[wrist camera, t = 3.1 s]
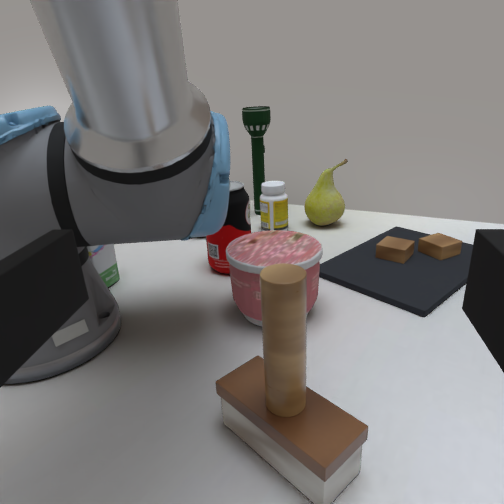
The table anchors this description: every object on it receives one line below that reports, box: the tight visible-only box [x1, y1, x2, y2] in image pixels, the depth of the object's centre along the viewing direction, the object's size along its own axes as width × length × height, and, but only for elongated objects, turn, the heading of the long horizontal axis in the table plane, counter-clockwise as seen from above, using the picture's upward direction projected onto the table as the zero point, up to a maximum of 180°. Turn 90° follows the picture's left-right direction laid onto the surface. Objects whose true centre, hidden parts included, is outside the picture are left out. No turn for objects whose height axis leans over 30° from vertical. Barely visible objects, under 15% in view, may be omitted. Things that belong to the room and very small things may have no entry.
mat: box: [319, 227, 473, 317], centre depth 57 cm, size 16×22×1 cm
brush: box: [216, 263, 368, 504], centre depth 27 cm, size 10×4×14 cm, turn 42°
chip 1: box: [376, 236, 415, 264], centre depth 57 cm, size 4×4×2 cm
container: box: [226, 230, 322, 326], centre depth 46 cm, size 10×10×8 cm
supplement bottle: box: [260, 181, 288, 231], centre depth 71 cm, size 5×5×8 cm
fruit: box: [305, 159, 348, 226], centre depth 71 cm, size 7×8×12 cm
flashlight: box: [242, 106, 270, 215], centre depth 77 cm, size 5×5×20 cm
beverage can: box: [206, 181, 251, 274], centre depth 57 cm, size 6×6×12 cm
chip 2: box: [418, 233, 462, 260], centre depth 58 cm, size 4×4×2 cm
